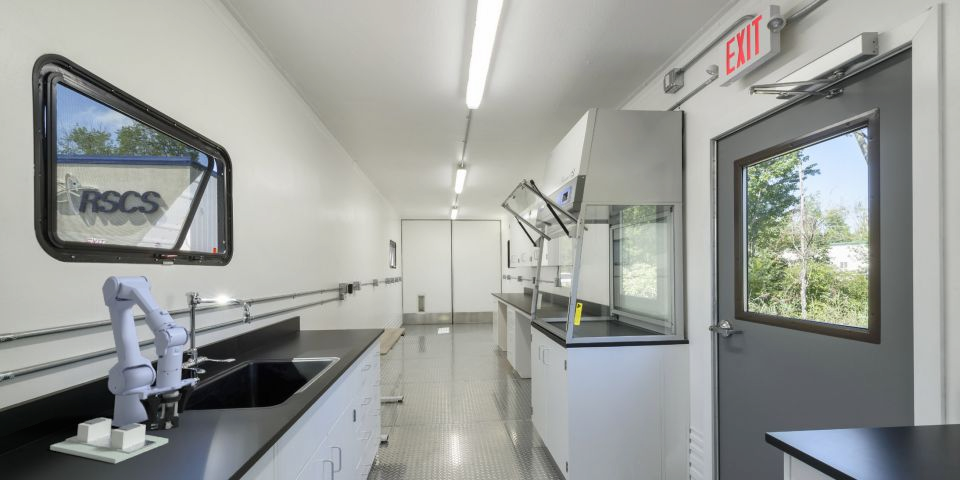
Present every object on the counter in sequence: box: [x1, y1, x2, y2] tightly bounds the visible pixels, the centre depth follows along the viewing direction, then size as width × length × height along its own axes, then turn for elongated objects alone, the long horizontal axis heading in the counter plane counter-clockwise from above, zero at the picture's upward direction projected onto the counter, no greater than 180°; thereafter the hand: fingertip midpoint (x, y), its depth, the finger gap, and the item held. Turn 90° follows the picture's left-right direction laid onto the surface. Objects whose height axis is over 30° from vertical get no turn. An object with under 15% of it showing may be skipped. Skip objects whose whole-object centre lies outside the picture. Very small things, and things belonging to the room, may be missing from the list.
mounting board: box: [49, 428, 169, 464], centre depth 103 cm, size 12×24×1 cm, turn 73°
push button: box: [150, 390, 182, 431], centre depth 115 cm, size 7×5×10 cm
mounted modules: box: [76, 417, 147, 449], centre depth 103 cm, size 5×17×4 cm, turn 73°
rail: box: [65, 433, 156, 454], centre depth 103 cm, size 6×24×1 cm, turn 73°
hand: (166, 417), depth 115 cm, fingers open, 7 cm apart
